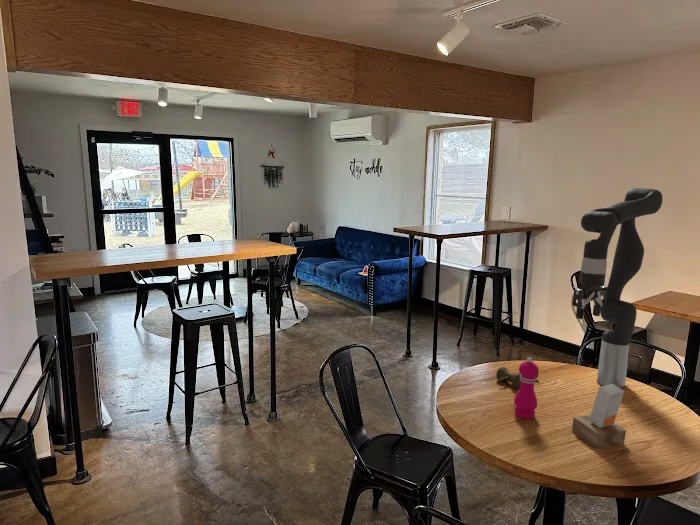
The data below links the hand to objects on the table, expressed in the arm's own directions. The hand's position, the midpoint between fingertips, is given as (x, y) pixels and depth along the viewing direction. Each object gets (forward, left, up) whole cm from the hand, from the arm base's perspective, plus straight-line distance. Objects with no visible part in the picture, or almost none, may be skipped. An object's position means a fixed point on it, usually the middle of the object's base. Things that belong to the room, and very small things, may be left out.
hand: (587, 317), depth 160 cm
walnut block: (+15, +18, -32) cm, 40 cm away
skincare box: (+15, +19, -26) cm, 36 cm away
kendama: (+8, -21, -32) cm, 39 cm away
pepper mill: (+25, -1, -31) cm, 40 cm away
